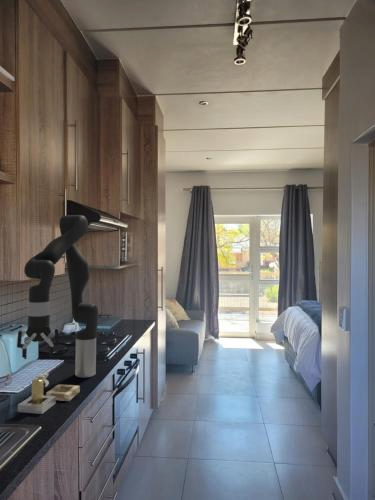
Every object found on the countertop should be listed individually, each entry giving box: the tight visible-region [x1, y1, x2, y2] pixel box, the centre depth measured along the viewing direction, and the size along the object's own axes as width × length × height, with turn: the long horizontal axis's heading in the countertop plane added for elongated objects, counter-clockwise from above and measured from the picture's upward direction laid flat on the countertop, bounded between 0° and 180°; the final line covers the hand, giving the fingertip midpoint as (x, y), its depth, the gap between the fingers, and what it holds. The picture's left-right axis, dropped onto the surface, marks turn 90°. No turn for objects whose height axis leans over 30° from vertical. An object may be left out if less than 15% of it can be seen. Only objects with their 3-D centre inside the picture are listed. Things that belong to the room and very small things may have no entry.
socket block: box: [17, 395, 57, 415], centre depth 134 cm, size 10×10×2 cm
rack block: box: [45, 383, 81, 402], centre depth 145 cm, size 10×10×2 cm
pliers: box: [38, 372, 50, 388], centre depth 161 cm, size 10×2×15 cm
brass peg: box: [31, 377, 45, 404], centre depth 134 cm, size 4×4×10 cm
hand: (38, 357), depth 134 cm, fingers open, 8 cm apart
